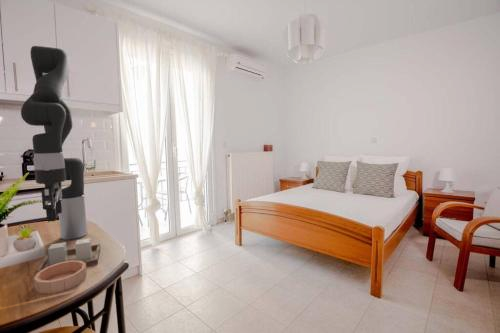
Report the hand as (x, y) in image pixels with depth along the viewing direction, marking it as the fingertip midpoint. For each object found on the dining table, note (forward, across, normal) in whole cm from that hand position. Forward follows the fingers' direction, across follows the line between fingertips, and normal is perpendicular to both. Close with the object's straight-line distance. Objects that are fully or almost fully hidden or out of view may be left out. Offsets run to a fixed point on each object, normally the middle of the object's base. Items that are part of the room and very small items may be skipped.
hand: (55, 217), depth 80 cm
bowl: (+16, +13, +3) cm, 21 cm away
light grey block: (+16, 0, 0) cm, 16 cm away
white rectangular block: (+16, 0, +7) cm, 17 cm away
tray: (+16, 0, +3) cm, 16 cm away
